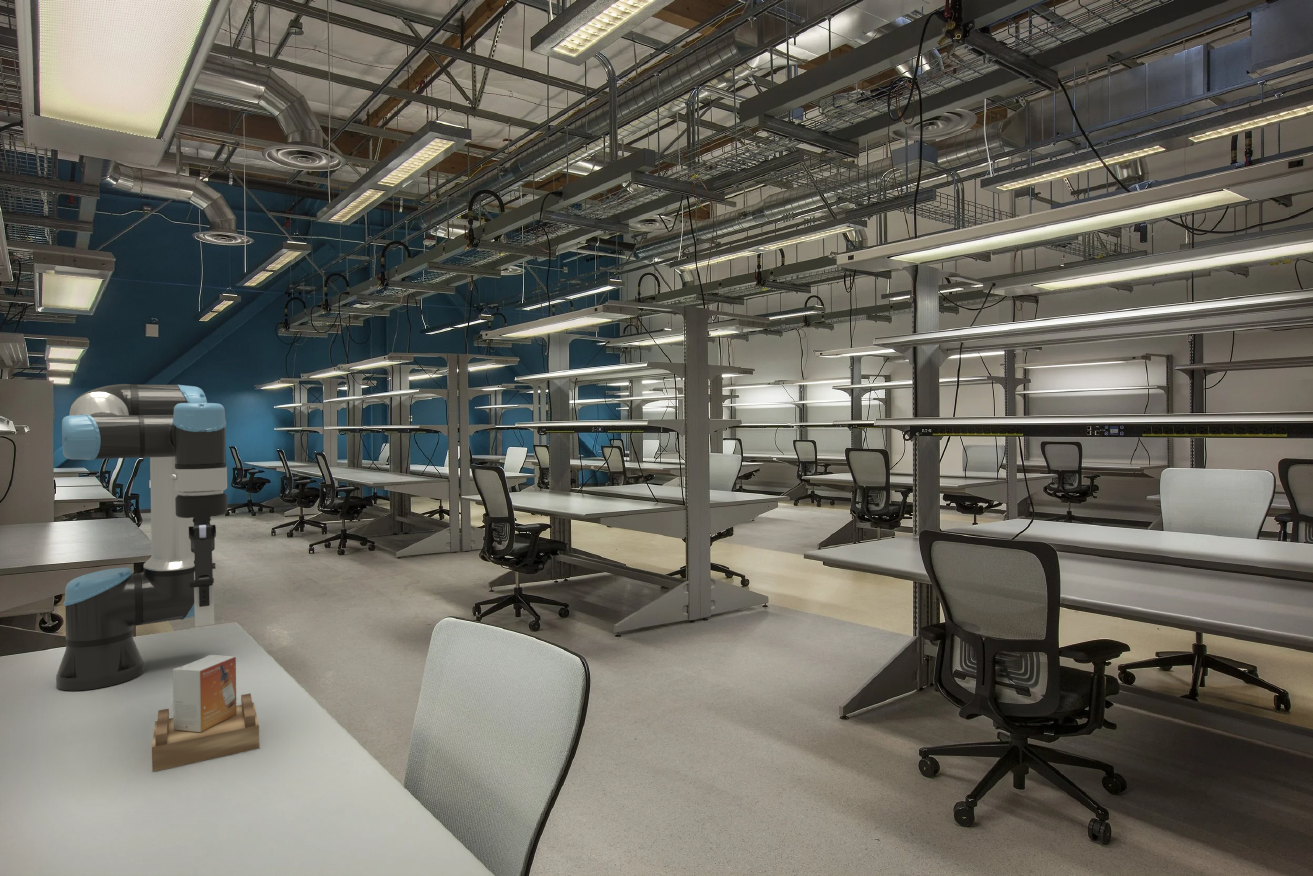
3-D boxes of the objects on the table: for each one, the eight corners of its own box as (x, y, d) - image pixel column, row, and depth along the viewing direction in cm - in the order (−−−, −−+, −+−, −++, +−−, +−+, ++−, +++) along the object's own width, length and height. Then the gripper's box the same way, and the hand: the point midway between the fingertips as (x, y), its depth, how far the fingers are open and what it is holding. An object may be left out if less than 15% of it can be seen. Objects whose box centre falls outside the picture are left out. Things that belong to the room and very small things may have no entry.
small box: (200, 733, 119) (199, 671, 119) (172, 730, 121) (171, 669, 120) (238, 714, 127) (236, 655, 127) (211, 712, 129) (210, 653, 128)
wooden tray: (155, 744, 125) (154, 711, 125) (254, 723, 133) (253, 692, 133) (152, 772, 115) (151, 736, 115) (259, 748, 123) (258, 714, 123)
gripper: (176, 488, 131) (179, 603, 132) (173, 501, 110) (176, 637, 111) (224, 486, 135) (226, 597, 136) (229, 497, 114) (232, 629, 115)
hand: (204, 615), depth 123 cm, fingers open, 13 cm apart
